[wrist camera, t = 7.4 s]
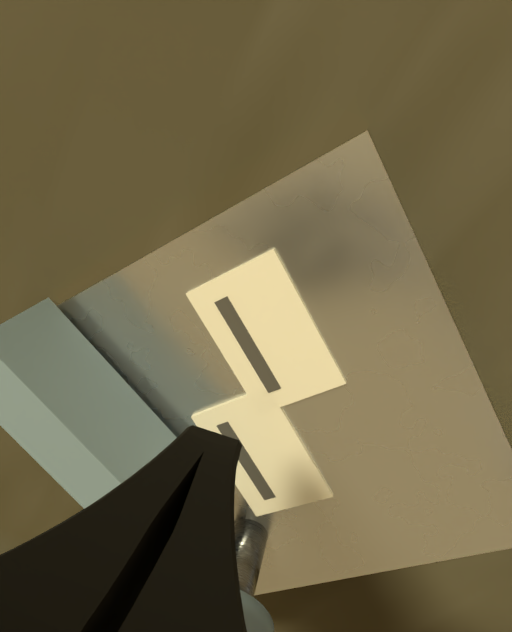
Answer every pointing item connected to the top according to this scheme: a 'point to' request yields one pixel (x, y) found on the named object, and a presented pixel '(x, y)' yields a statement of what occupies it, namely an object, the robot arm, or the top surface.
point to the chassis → (338, 403)
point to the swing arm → (80, 414)
